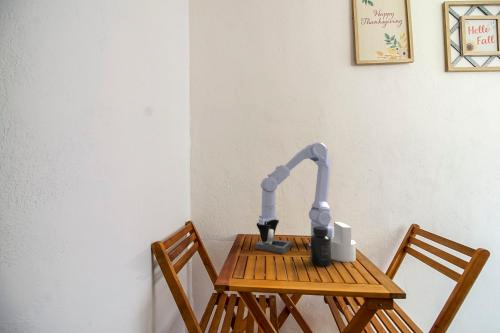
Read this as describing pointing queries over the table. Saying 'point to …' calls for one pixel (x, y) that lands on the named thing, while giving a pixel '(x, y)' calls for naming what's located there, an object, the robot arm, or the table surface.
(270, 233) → the light bulb
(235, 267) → the table surface
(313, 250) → the supplement bottle
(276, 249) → the keyhole plate
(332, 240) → the cylinder with rectangular tab
